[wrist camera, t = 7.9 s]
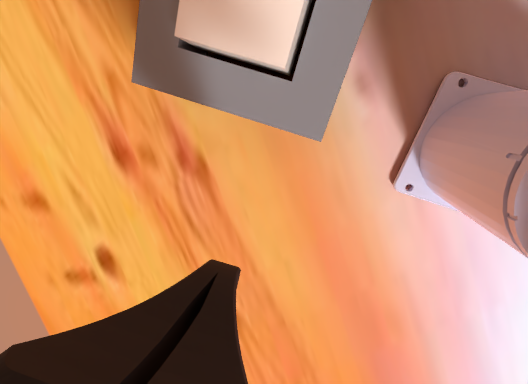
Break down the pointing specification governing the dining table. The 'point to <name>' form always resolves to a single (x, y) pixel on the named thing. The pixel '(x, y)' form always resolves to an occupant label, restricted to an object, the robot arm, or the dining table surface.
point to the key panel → (250, 81)
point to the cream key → (245, 29)
